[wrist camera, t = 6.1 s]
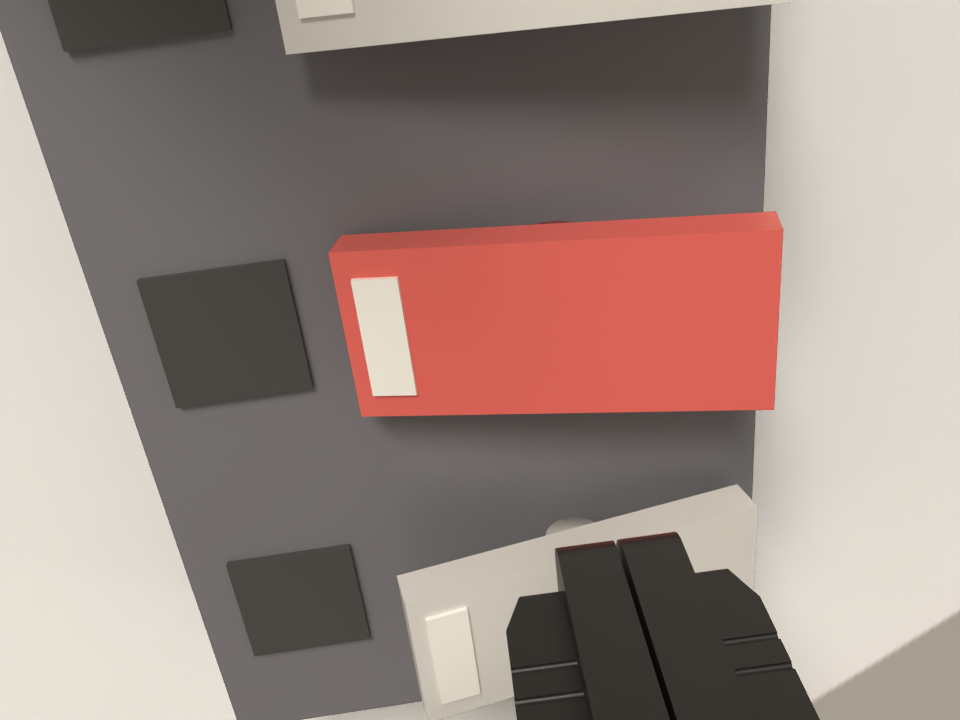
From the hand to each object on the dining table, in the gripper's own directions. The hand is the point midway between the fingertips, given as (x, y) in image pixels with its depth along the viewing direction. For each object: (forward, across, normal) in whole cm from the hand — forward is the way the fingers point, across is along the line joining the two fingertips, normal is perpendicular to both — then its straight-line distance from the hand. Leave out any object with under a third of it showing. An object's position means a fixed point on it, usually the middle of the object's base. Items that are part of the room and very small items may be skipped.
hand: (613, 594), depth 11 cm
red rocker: (+9, -1, 0) cm, 9 cm away
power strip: (+14, +2, 0) cm, 15 cm away
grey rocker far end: (+9, 0, +8) cm, 13 cm away
